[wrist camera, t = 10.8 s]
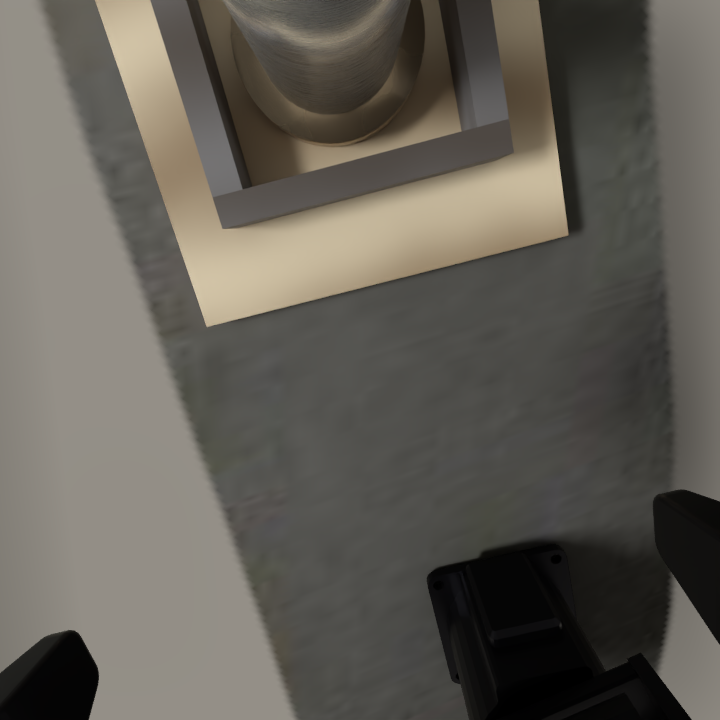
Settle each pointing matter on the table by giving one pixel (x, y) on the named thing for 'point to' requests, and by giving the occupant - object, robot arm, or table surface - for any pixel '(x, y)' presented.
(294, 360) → the table surface
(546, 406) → the table surface
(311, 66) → the grey rounded piece
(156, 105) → the carrier board
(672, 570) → the robot arm
